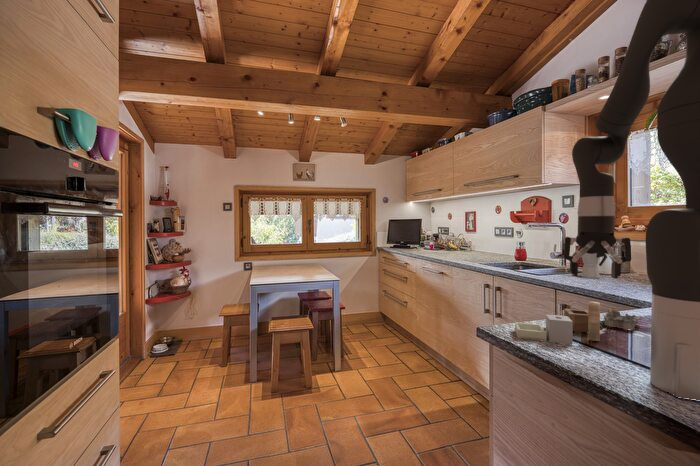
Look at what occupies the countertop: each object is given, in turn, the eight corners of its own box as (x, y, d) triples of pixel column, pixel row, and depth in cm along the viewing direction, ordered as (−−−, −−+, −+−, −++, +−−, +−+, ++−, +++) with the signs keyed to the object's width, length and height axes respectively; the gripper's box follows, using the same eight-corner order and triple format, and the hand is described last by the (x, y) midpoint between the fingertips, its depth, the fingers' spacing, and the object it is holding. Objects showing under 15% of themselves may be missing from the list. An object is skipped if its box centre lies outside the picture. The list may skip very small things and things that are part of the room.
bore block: (595, 333, 88) (595, 316, 88) (569, 331, 90) (569, 313, 90) (588, 327, 94) (588, 310, 94) (564, 325, 96) (564, 308, 96)
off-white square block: (572, 345, 80) (572, 321, 80) (549, 342, 82) (549, 319, 82) (567, 338, 85) (567, 315, 85) (545, 336, 87) (545, 314, 87)
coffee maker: (573, 275, 185) (574, 245, 184) (584, 275, 188) (585, 244, 187) (600, 280, 171) (601, 246, 170) (612, 279, 173) (612, 246, 173)
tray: (546, 341, 83) (546, 332, 83) (517, 338, 85) (517, 329, 85) (541, 333, 89) (541, 324, 89) (514, 330, 91) (515, 322, 91)
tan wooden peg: (600, 342, 82) (601, 304, 82) (589, 341, 83) (590, 303, 82) (597, 339, 84) (598, 301, 84) (586, 338, 85) (587, 301, 85)
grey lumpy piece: (610, 319, 102) (610, 307, 102) (641, 325, 96) (641, 312, 96) (600, 326, 95) (600, 312, 95) (633, 333, 89) (633, 318, 89)
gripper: (567, 214, 82) (566, 277, 82) (637, 214, 76) (635, 281, 77) (560, 215, 88) (559, 273, 89) (623, 214, 83) (622, 276, 84)
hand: (594, 276), depth 83 cm, fingers open, 8 cm apart
